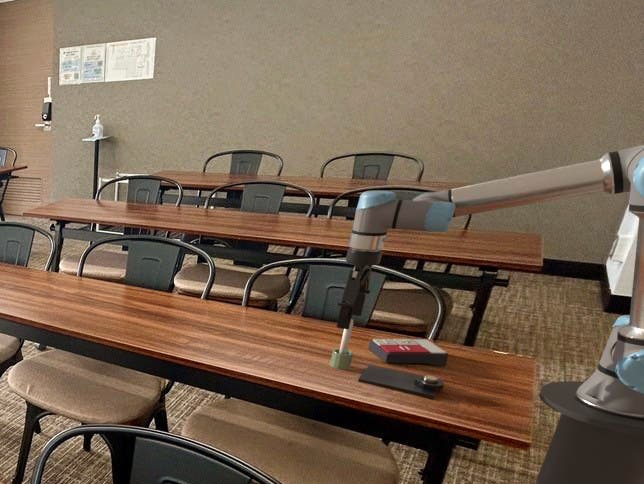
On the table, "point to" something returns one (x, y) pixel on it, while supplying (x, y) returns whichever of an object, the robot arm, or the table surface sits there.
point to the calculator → (408, 351)
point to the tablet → (400, 381)
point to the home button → (430, 379)
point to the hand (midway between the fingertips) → (349, 321)
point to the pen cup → (341, 360)
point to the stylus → (346, 339)
